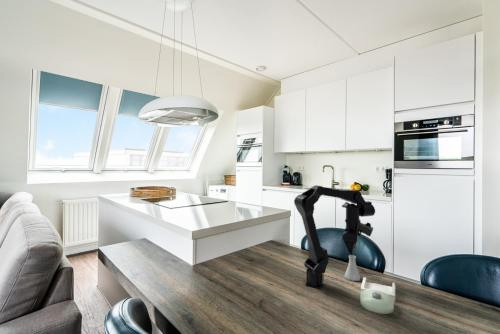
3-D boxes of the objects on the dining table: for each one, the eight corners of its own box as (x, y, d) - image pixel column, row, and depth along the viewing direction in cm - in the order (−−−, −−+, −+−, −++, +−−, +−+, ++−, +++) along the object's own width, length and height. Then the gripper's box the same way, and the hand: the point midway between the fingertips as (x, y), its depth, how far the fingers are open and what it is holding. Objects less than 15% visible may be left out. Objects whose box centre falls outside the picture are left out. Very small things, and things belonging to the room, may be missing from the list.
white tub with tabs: (357, 308, 92) (357, 297, 92) (363, 282, 113) (363, 273, 113) (395, 317, 87) (395, 305, 87) (395, 288, 107) (394, 279, 107)
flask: (362, 282, 113) (362, 259, 113) (345, 280, 114) (345, 258, 114) (358, 275, 120) (359, 254, 120) (342, 274, 121) (342, 253, 121)
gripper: (370, 223, 105) (370, 261, 105) (373, 215, 121) (373, 248, 121) (341, 220, 110) (341, 256, 110) (348, 213, 127) (348, 244, 127)
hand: (352, 251), depth 117 cm, fingers open, 9 cm apart
